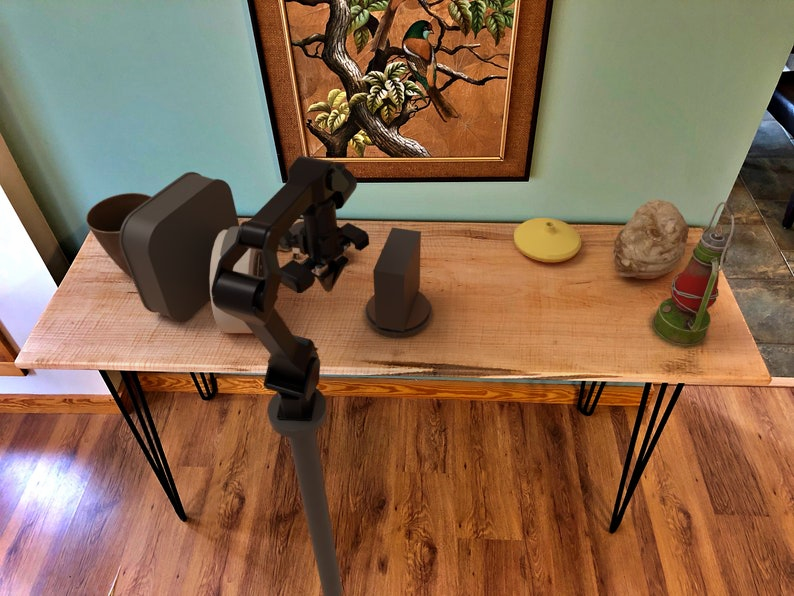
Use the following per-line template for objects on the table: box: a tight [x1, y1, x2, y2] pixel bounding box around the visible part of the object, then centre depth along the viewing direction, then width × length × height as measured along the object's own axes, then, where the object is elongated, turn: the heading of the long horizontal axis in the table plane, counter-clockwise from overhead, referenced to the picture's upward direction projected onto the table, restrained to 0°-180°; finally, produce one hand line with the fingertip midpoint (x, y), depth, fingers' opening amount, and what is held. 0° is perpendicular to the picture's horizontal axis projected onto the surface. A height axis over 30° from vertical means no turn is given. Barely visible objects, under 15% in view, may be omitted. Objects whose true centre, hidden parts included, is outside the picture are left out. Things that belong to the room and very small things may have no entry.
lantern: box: [651, 201, 735, 349], centre depth 119 cm, size 14×11×30 cm
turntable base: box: [365, 298, 433, 339], centre depth 132 cm, size 14×14×2 cm
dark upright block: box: [367, 226, 430, 332], centre depth 126 cm, size 13×14×16 cm
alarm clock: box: [210, 225, 268, 334], centre depth 127 cm, size 21×8×20 cm, turn 179°
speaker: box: [119, 171, 240, 323], centre depth 131 cm, size 25×9×25 cm, turn 154°
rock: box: [612, 199, 690, 280], centre depth 138 cm, size 18×16×15 cm
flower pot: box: [85, 192, 152, 279], centre depth 139 cm, size 15×15×16 cm
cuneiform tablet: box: [277, 245, 300, 260], centre depth 147 cm, size 7×4×12 cm
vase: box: [513, 217, 582, 263], centre depth 146 cm, size 16×16×7 cm
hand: (328, 290), depth 119 cm, fingers closed
